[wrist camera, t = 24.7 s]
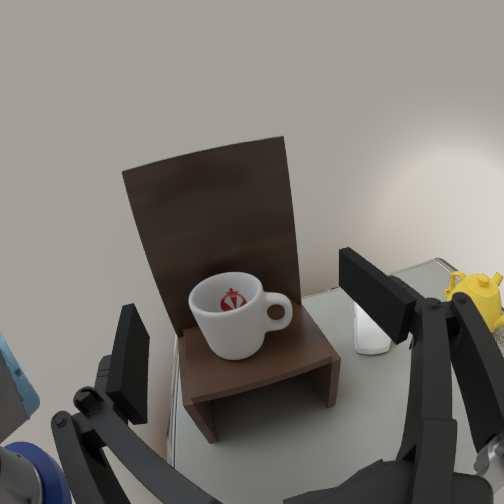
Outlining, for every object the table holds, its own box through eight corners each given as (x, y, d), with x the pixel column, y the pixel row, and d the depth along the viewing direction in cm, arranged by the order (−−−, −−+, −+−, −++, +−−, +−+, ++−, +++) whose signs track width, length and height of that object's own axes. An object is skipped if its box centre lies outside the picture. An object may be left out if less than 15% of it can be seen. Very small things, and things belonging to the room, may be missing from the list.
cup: (292, 318, 35) (287, 265, 31) (297, 364, 28) (292, 308, 24) (212, 324, 36) (197, 274, 32) (201, 369, 29) (179, 316, 25)
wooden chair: (335, 405, 33) (340, 138, 18) (209, 443, 30) (85, 192, 15) (301, 348, 45) (280, 135, 30) (198, 377, 42) (123, 170, 27)
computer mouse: (382, 307, 50) (385, 281, 47) (391, 356, 38) (397, 329, 36) (351, 308, 51) (353, 283, 49) (354, 357, 40) (357, 330, 38)
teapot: (502, 354, 29) (526, 304, 24) (441, 350, 36) (460, 298, 31) (490, 306, 40) (505, 260, 35) (439, 301, 47) (449, 254, 42)
